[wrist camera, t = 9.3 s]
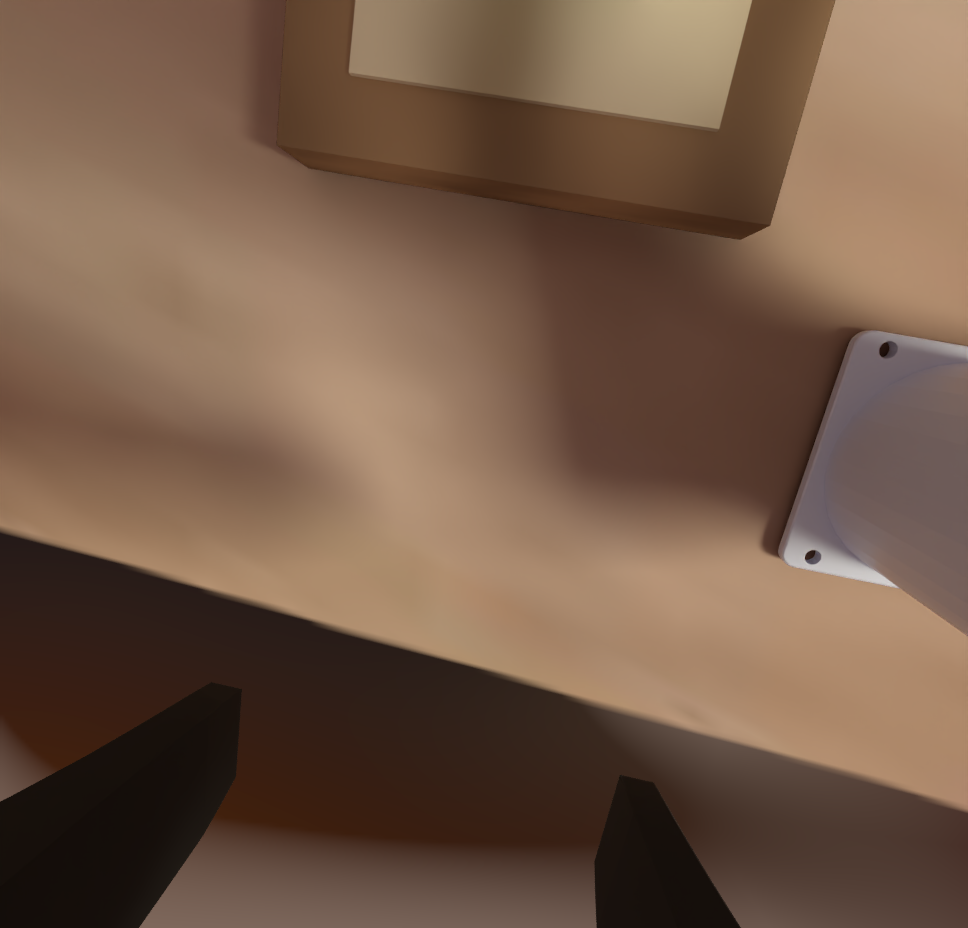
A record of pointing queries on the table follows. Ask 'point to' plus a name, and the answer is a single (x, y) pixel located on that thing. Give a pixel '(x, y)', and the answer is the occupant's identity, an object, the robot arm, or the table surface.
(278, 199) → the table surface
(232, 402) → the table surface
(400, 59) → the plinth
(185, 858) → the robot arm
